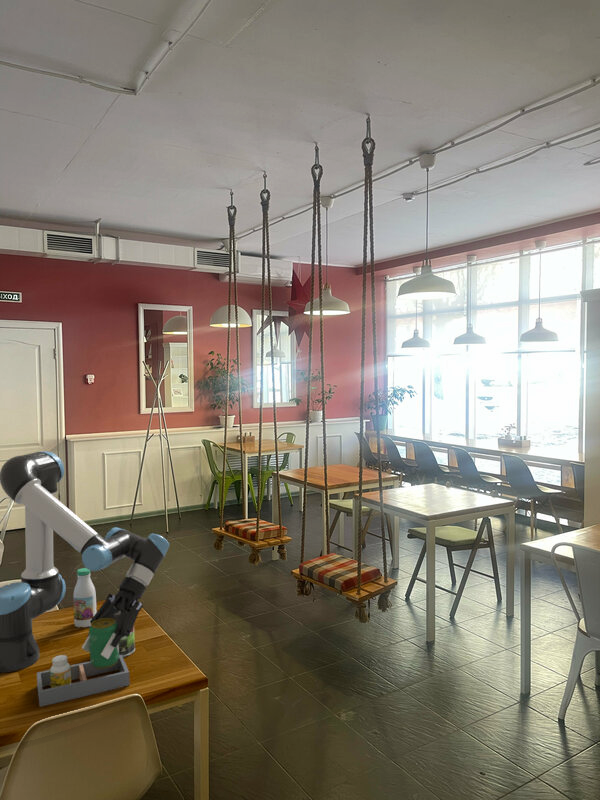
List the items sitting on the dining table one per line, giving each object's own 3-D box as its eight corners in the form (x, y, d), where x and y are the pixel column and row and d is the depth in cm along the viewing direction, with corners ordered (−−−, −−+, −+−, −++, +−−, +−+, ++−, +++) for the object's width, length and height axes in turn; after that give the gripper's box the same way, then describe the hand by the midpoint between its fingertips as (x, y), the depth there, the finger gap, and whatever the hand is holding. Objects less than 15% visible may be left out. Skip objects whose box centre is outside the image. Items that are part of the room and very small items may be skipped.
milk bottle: (80, 619, 226) (78, 565, 226) (100, 619, 225) (98, 566, 225) (70, 627, 219) (68, 572, 218) (90, 628, 218) (88, 573, 217)
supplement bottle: (75, 688, 176) (74, 655, 176) (61, 697, 171) (60, 663, 171) (60, 685, 178) (59, 652, 178) (46, 694, 173) (45, 660, 173)
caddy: (37, 686, 178) (36, 672, 177) (122, 667, 188) (121, 654, 188) (39, 706, 166) (39, 692, 166) (129, 685, 177) (129, 672, 177)
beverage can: (121, 664, 178) (119, 624, 177) (93, 671, 174) (91, 630, 174) (116, 654, 185) (114, 615, 184) (88, 660, 181) (86, 620, 181)
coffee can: (140, 645, 203) (139, 603, 202) (126, 659, 193) (124, 616, 192) (112, 643, 205) (110, 602, 205) (96, 657, 195) (94, 614, 194)
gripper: (166, 593, 186) (126, 667, 173) (121, 582, 197) (80, 650, 185) (152, 581, 181) (110, 656, 168) (106, 570, 193) (64, 640, 180)
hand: (94, 653), depth 176 cm, fingers closed on beverage can, 8 cm apart
